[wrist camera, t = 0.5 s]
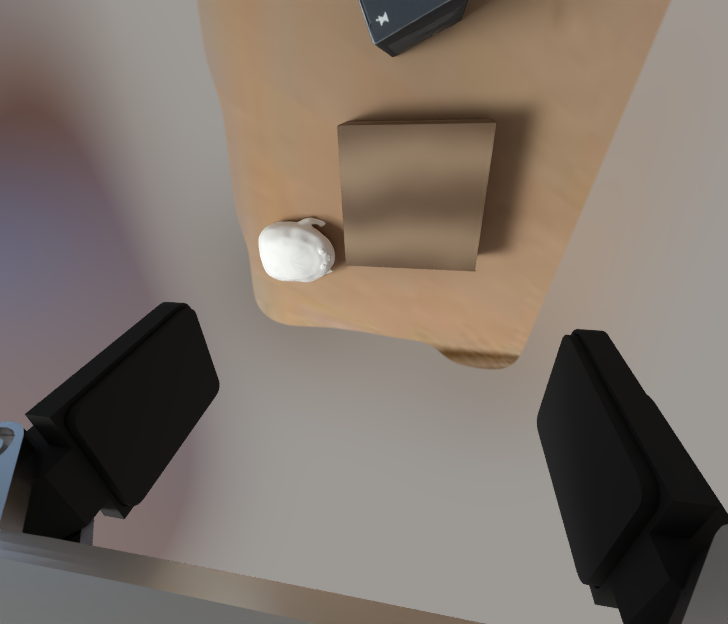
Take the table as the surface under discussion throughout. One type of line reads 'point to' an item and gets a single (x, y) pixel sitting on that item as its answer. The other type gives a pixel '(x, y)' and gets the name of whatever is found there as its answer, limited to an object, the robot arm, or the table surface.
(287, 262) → the garlic
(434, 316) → the table surface
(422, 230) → the walnut block
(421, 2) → the box
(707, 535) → the robot arm
